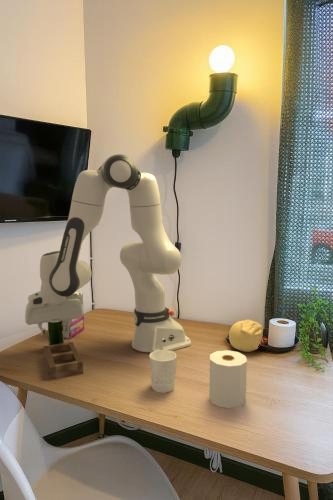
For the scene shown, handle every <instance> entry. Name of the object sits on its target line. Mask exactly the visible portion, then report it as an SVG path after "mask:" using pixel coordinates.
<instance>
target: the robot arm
mask: <svg viewBox="0 0 333 500" xmlns="http://www.w3.org/2000/svg"><path fill="white" fill-rule="evenodd" d="M112 188H118V189H123V190H125V191H126V192H127V195H128V199H129V200H128V201H129V202H128V203H129V213H130V225H131V228H132V230H133V231H134V232H135V233H136V234H137V235H138V236H139V238H140V239H141V241H130V242H126V243H125V244H124V245H122V247H121V250H120V252H119V259H120V262H121V264H122V265H123V266H124V268H125V269H126V270H127V272H128V274H129V276H130V279H131V281H132V286H133V289H134V306H135V308H134V309H133V310H134V311H133V321H134V331H133V338H132V341H131V347H132V349H134V350H136V351H138V352H142V353H152V352H154V351H157V350H169V351H173V352H174V351H175V350H180V349H182V348H186V347H190V346H191V344H192V341H191V339H190V338H189V336H187V335H186V334H185V330H184V327H183V325H181V323H179V322H177V321H176V320H175V319H173V318H172V317H173V316H174V315H175V311H174V310H172V309H169V308H167V307H166V291H165V287H164V285H163V284H162V283H161V282H160V280H158V277H157V276H156V275H161V276H162V275H174V274H175V273H176V272H177V271H178V270H179V268H180V267H181V265H182V264H181V263H182V254H181V252H180V250H179V249H178V248H177V247H176V246H175V245H174V244H173V243H172V242H171V240H170V238H169V236H168V235H167V233H166V230H165V226H164V221H163V215H162V203H161V202H162V201H161V195H160V189H159V185H158V181H157V178H156V177H155V175H153V174H151V173H149V172H141V171H140V169H138V167H137V165H136V164H135V162H134V161H133V159H131V157H129V156H127V155H125V154H120V153H119V154H118V153H116V154H112V155H110V156H108V157H107V158H106V159H105V161H104V162H103V163H102V164H101V166H100V167H99V168H98V169H96V170H95V169H86V170H82V171H81V172H79V174H78V176H77V179H76V180H75V183H74V188H73V192H72V197H71V203H70V208H69V213H68V218H67V222H66V225H65V230H64V232H63V235H62V239H61V244H60V250H55V251H51V252H47V253H44V254H43V255H42V256H41V258H40V262H39V277H40V282H41V285H40V290H39V291H37V292H35V293H32V294H29V295H28V297H27V302H28V303H27V304H26V307H25V312H24V313H25V314H24V315H25V316H24V319H25V323H26V324H27V325H28V326H30V325H37V328H39V329H40V334H41V335H42V336H43V335H46V334H47V333H46V331H47V330H46V328H45V327H44V328H43V327H42V326H43V324H46V323H47V324H48V322H51V321H52V319H59V320H61V321H63V320H67V321H68V323H67V326H64V328H65V332H66V331H69V327H70V325H71V323H72V319H78V318H82V316H83V312H84V308H83V309H82V303H83V304H84V298H83V297H82V295H80V294H73V293H75V292H78V290H80V289H81V288H83V287H84V286H86V285H88V283H89V282H90V281H91V279H92V276H93V275H92V273H93V272H92V268H91V267H90V265H89V264H88V263H87V262H85V261H83V260H79V258H80V254H81V253H80V252H81V249H82V246H83V243H84V240H85V239H86V237H87V236H88V235H89V234H90V233H91V232H92V231H93V230H94V229H95V228H96V227H97V226H98V225H100V222H101V219H102V217H103V213H104V208H105V203H106V198H107V193H108V191H110V190H111V189H112Z"/></svg>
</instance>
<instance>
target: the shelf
mask: <svg viewBox="0 0 333 500" xmlns="http://www.w3.org/2000/svg"><path fill="white" fill-rule="evenodd" d="M43 358H44V361H45V364H46V368H47V371H48V375H49V379H50V381H52V380H57V379H64V378H68V377H73V376H79V375H83V374H84V364H83V363H84V362H83V360H82V357H81V356H80V354H79V352H78V349H77V348H76V345H75V343H74V342H73V341H70V342H64V343H62V344H55V345H49V344H48V345H44V346H43Z"/></svg>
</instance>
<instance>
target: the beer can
mask: <svg viewBox="0 0 333 500" xmlns="http://www.w3.org/2000/svg"><path fill="white" fill-rule="evenodd" d="M47 334H48V335H47V336H48V346H49V345H55V344H62V343H65V338H64V335H63V321H61V320H59V319H52V321H51V322H47Z"/></svg>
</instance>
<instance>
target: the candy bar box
mask: <svg viewBox="0 0 333 500" xmlns="http://www.w3.org/2000/svg"><path fill="white" fill-rule="evenodd" d="M83 293H84V292H81V291H76V292H75V293H73V294H80V295H82V297H83V295H84V294H83ZM82 309H83V310H84V302H83V303H82ZM84 314H85V313H84V311H83V316H82V318H78V319H72V323H71V325H70V327H69V331H66V332H65V328H64V326H67V323H68V321H67V320H63V335H64V339H68V340H69V339H72V338H74V337H75V336H77V335H78V334H80V333H81V332H83V331H85V319H84V318H85V316H84Z"/></svg>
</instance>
